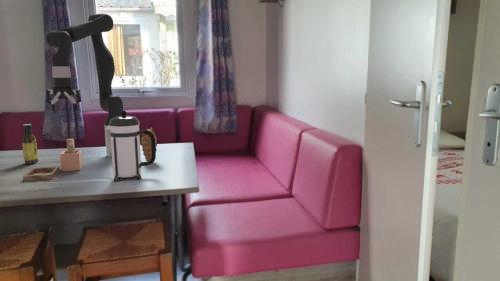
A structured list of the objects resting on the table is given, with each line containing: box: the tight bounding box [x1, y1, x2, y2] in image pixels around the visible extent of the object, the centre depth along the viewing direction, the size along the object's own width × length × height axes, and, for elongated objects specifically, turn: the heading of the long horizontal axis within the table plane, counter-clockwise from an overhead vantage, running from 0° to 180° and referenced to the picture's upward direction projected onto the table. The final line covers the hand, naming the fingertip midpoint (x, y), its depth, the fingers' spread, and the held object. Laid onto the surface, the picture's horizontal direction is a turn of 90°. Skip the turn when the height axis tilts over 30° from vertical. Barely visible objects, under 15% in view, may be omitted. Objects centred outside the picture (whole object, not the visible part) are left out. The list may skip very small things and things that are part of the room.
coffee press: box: [106, 109, 157, 183], centre depth 166 cm, size 17×16×30 cm
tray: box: [22, 165, 61, 184], centre depth 167 cm, size 11×14×3 cm
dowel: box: [66, 138, 76, 153], centre depth 178 cm, size 3×3×14 cm
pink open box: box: [59, 149, 84, 172], centre depth 179 cm, size 8×8×9 cm
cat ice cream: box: [140, 126, 158, 162], centre depth 193 cm, size 9×8×18 cm
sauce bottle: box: [21, 123, 39, 165], centre depth 191 cm, size 6×6×20 cm
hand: (65, 112), depth 174 cm, fingers open, 8 cm apart
